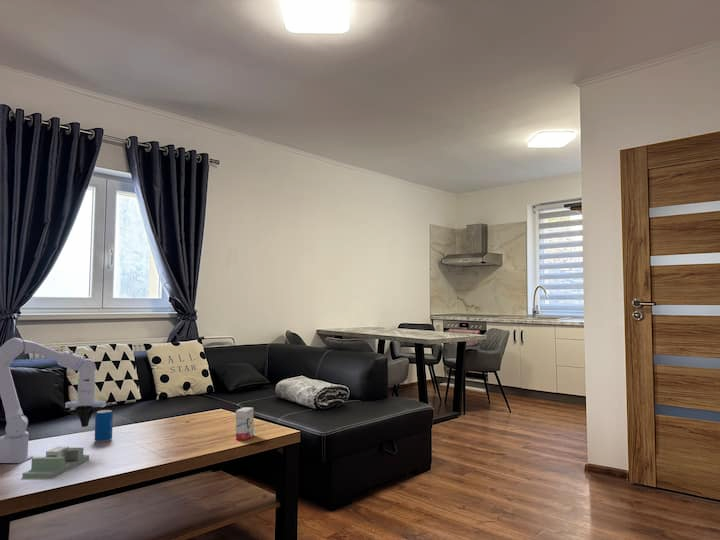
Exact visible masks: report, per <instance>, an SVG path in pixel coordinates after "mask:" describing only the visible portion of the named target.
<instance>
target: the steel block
mask: <svg viewBox="0 0 720 540" xmlns="http://www.w3.org/2000/svg"><path fill="white" fill-rule="evenodd" d="M69 448H70V446H56V447H53V448H52V449H49V450H46V451H45V457H65V463H66V462H68V453H69Z"/></svg>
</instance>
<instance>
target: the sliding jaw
mask: <svg viewBox="0 0 720 540" xmlns="http://www.w3.org/2000/svg"><path fill="white" fill-rule="evenodd" d="M84 449H85V448H84V447H69V453H68V460H80V459H82V458H83V455H84Z"/></svg>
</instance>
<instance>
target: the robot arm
mask: <svg viewBox="0 0 720 540" xmlns="http://www.w3.org/2000/svg"><path fill="white" fill-rule="evenodd" d="M22 353H23V354H24V355H26V354H33V353H34V354H37V355H39V356H43V357H45V358H49V359H52V360H55V361H56V362H57V365H58V366H61V367H64V368H66V369H69V370H72V371H74V372H75V371H78V372H79V373H78V379H77V401H75V400H74V401H67V402H65V403H64V404H65V406H64V408H65V409H68V408H75V412H76V414H77V416H78V418H79V421H80V424H81V425H80V426H81V427H82V428H85V427H88V426H89V424H90V419H91V417H92V415H93V412H94V411H95V409H96V408H104V407H106V405H107V403H106V400H95V389H96V388H95V387H96V386H95V383H96V381H95V380H96V378H95V375H96V373H95V371H96V370H97V366H96V363H95V361H94V360H93V359H91V358H86V356H84V355H82V356H81V355H78V354H76V353H74V351H73V350H64V351H61V352H60V351H58V350H55V349H53V348H50V347H49V346H48V347H47V346H45V345H42V343H41V344H40V343H38V342H34V341H32V340H28V339H22V338H20V337H12V338H10V339H8V340H6V341H5V342H4V343H3V344H2V345H1V346H0V399H1V401H2V406H3V408H4V409H3V410H4V412H5V421H6V425H5V434H4V435H1V436H0V463H18V464H21V463H23V462H25V461H27V460H30V459H32V458H34V455H28V453H29V436H30V433H29V431H27V429H28V425H29V419H28V417H27V416H26V415H24V412H23V409H22V408H21V407H22V406H21V405H20V400H19V397H18V394H17V389H16V386H15V382H14V380H13V375H12V372H11V368H10V365H11V363H12V362H13V361H14V360H15V358H17V357H18V356H19V355H21V354H22ZM20 462H21V463H20Z"/></svg>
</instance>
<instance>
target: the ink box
mask: <svg viewBox="0 0 720 540" xmlns="http://www.w3.org/2000/svg"><path fill="white" fill-rule="evenodd" d="M254 418H255V417H254V407H248V406H247V407H246V406H245V407H242V408H239V409H237V410H235V440H237V441H241V440H242V441H246V440H248V439H250V438H252V436H255V435H254V434H255V432H254V428H255V427H254Z"/></svg>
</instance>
